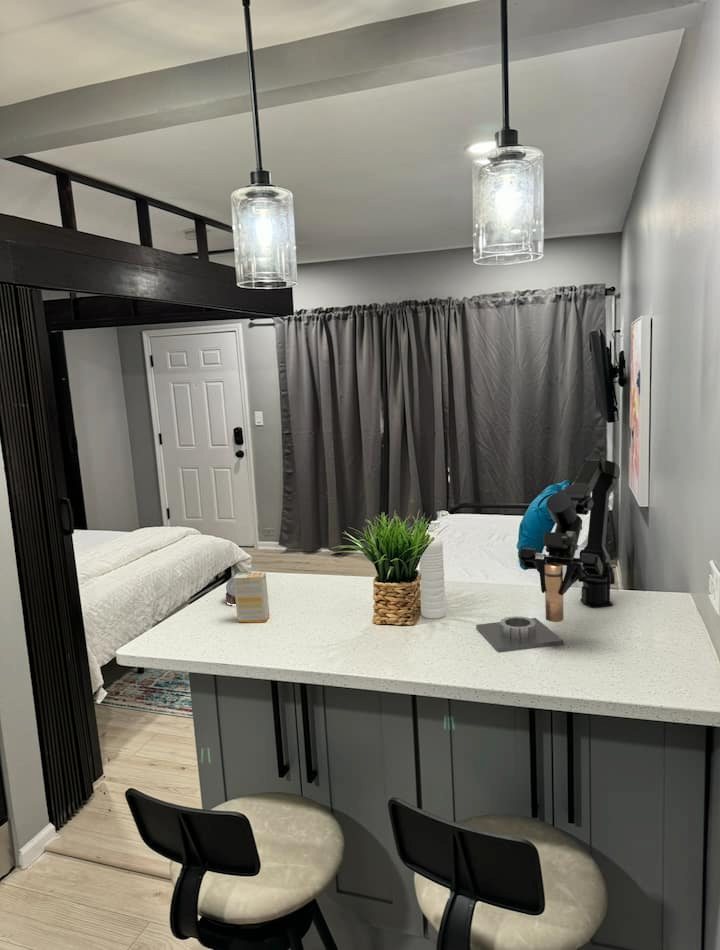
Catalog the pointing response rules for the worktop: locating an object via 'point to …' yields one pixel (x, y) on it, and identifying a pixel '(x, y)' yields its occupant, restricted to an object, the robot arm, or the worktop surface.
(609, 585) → the robot arm
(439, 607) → the water bottle
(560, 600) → the copper cylindrical bottle
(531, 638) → the plate
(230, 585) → the canned food
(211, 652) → the worktop surface
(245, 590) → the supplement box
